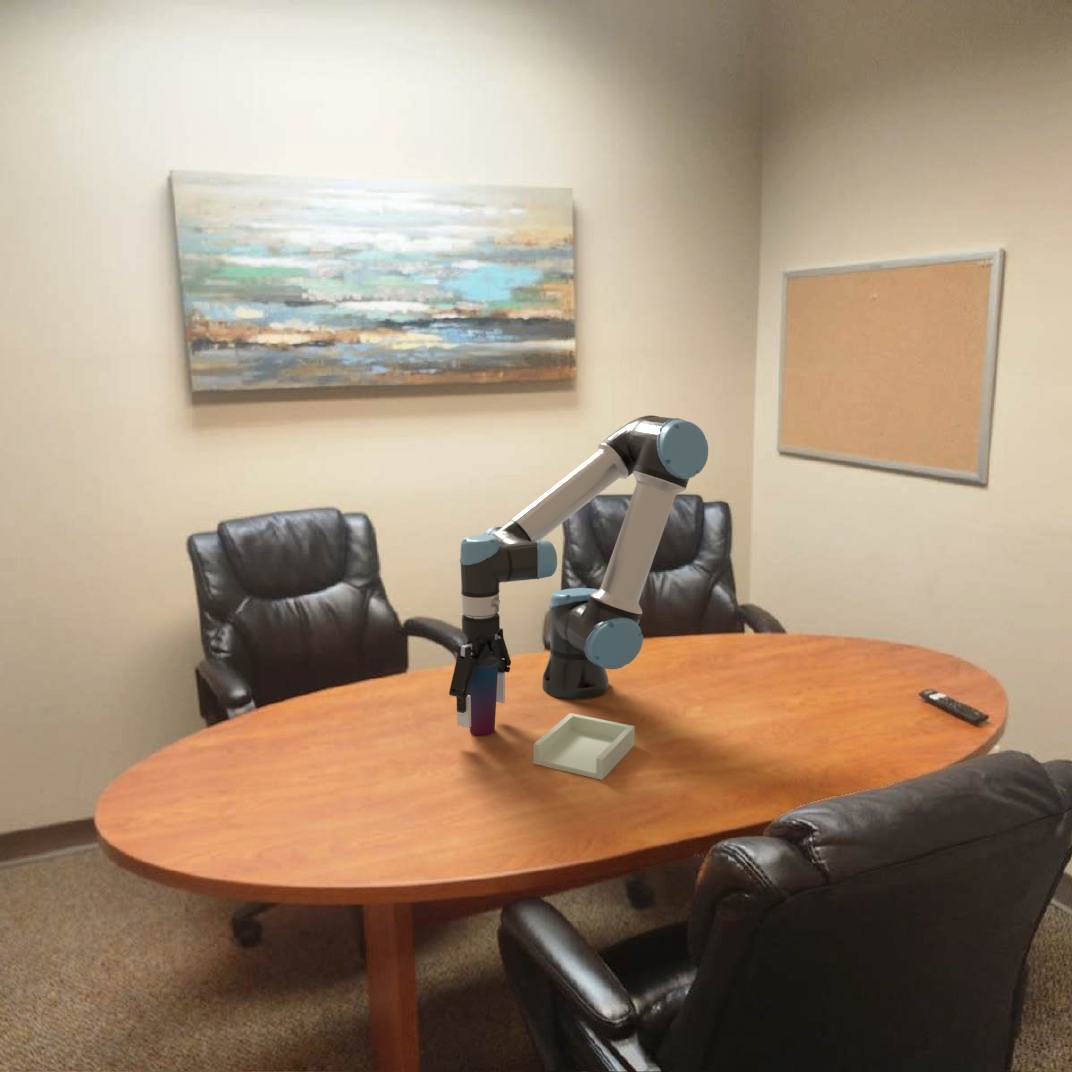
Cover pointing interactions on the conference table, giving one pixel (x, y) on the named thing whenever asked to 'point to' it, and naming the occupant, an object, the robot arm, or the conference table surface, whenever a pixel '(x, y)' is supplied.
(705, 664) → the conference table surface
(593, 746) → the open sided tray
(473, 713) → the cup
